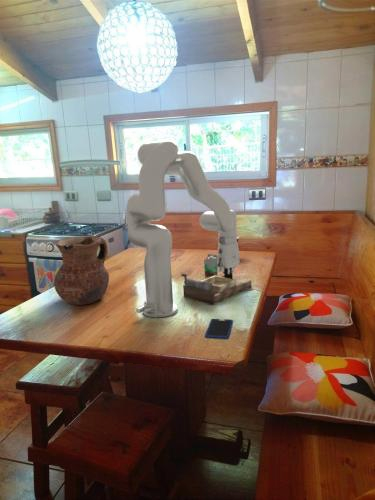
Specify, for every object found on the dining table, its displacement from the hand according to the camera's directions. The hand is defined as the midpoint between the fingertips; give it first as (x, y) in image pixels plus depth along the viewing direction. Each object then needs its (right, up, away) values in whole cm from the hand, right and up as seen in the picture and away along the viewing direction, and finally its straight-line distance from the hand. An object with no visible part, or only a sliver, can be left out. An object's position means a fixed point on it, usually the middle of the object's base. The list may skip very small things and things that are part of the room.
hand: (228, 282), depth 152 cm
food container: (-5, +1, +16) cm, 17 cm away
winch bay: (-5, -4, -4) cm, 7 cm away
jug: (-60, -7, -6) cm, 60 cm away
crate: (-5, -2, -5) cm, 8 cm away
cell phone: (-7, -12, -39) cm, 41 cm away
